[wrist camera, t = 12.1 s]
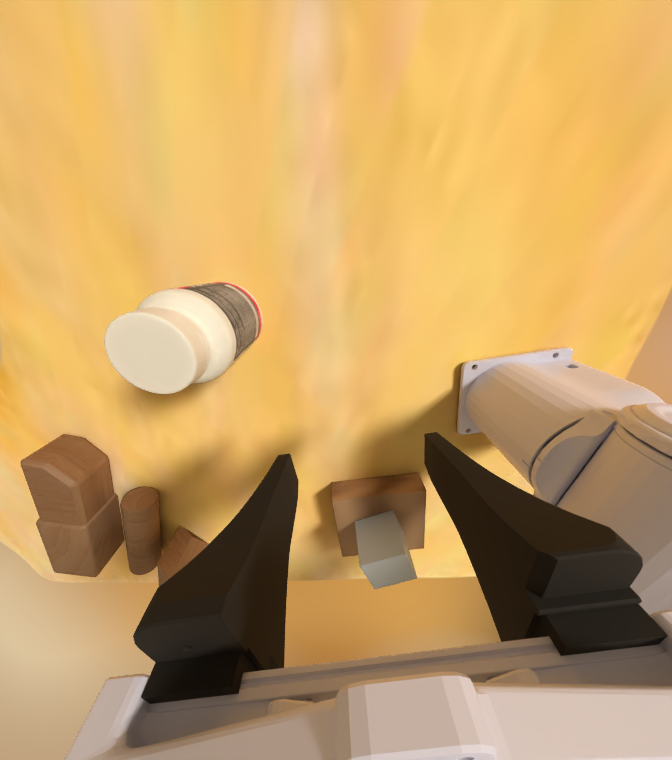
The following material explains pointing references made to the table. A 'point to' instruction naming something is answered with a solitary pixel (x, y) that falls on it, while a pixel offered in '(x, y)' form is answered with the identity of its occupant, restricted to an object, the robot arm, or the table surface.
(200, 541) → the wooden block set
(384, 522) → the grey cube
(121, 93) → the table surface
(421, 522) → the walnut block
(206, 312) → the pill bottle
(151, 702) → the robot arm
